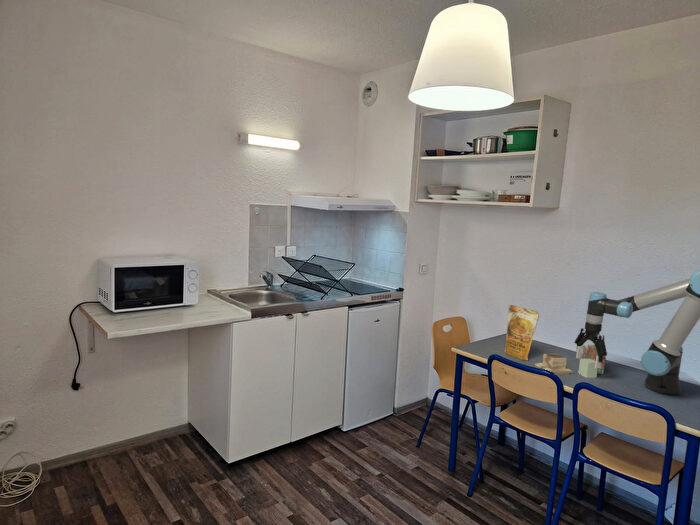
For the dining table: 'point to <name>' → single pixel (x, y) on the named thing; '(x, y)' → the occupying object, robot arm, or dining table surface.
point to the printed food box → (593, 356)
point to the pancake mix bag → (520, 331)
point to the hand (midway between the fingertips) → (587, 362)
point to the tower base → (554, 364)
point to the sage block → (587, 368)
